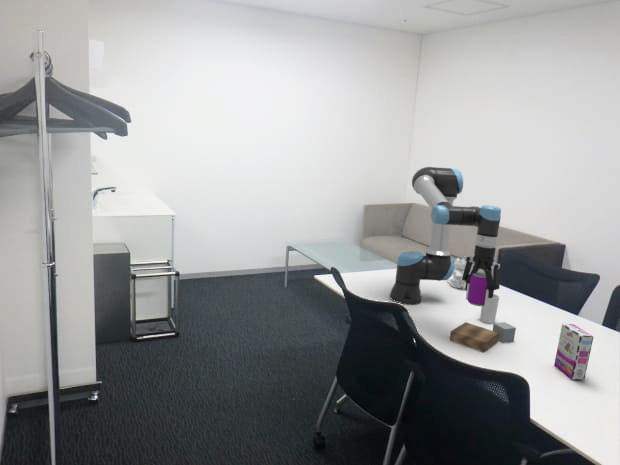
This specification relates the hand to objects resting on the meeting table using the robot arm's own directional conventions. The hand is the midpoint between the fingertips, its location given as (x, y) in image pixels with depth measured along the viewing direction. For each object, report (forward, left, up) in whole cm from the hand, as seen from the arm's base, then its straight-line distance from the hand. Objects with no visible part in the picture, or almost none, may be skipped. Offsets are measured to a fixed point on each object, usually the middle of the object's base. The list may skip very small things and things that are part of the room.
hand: (477, 302), depth 193 cm
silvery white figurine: (-46, +59, -16) cm, 77 cm away
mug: (-10, +26, -16) cm, 32 cm away
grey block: (+6, +12, -16) cm, 21 cm away
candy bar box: (+35, +6, -16) cm, 39 cm away
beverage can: (0, 0, -1) cm, 1 cm away
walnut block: (+1, -1, -16) cm, 16 cm away
